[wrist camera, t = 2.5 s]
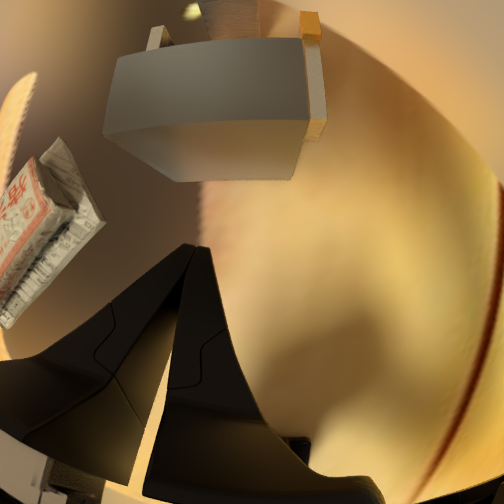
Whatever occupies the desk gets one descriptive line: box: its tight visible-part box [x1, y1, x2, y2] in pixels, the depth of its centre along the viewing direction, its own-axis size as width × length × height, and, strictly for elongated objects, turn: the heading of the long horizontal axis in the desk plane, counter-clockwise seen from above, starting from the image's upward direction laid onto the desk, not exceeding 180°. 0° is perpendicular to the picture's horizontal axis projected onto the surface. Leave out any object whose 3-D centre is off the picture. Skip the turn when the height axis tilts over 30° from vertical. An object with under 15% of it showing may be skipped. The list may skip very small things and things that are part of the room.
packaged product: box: [0, 137, 107, 330], centre depth 19 cm, size 18×5×10 cm
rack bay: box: [146, 0, 327, 142], centre depth 16 cm, size 10×12×8 cm
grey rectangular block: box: [102, 38, 309, 182], centre depth 15 cm, size 4×8×10 cm, turn 90°
